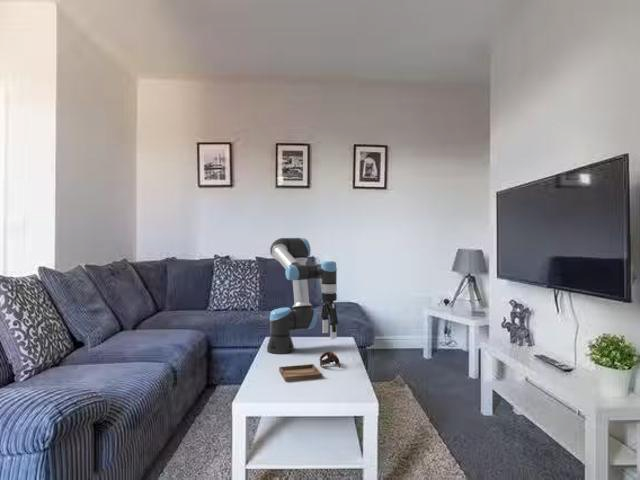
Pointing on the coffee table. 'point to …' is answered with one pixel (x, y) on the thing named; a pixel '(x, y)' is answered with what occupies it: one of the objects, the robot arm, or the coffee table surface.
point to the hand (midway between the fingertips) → (329, 335)
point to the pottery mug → (329, 358)
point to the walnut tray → (300, 372)
